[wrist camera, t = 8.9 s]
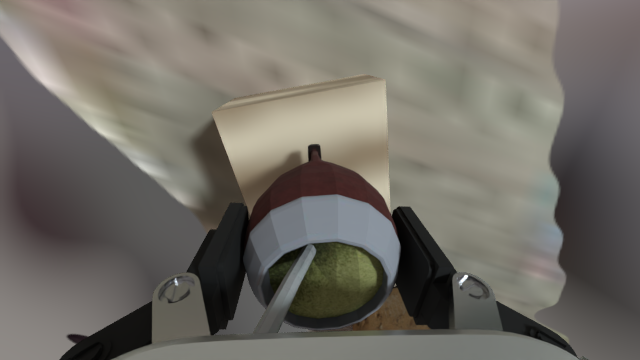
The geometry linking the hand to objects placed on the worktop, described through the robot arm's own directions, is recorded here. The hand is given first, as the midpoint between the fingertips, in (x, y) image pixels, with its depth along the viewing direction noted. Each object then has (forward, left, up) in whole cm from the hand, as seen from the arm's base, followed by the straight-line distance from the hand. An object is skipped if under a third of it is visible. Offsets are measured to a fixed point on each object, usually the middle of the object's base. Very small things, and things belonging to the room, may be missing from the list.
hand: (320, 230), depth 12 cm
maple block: (0, 0, -12) cm, 12 cm away
